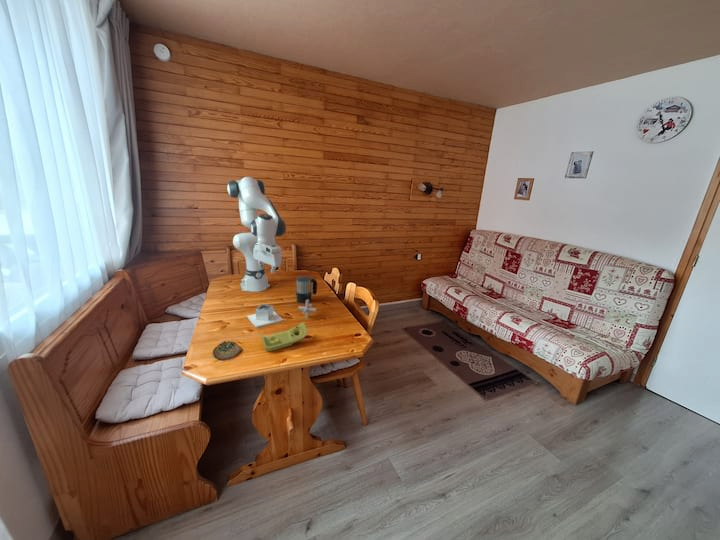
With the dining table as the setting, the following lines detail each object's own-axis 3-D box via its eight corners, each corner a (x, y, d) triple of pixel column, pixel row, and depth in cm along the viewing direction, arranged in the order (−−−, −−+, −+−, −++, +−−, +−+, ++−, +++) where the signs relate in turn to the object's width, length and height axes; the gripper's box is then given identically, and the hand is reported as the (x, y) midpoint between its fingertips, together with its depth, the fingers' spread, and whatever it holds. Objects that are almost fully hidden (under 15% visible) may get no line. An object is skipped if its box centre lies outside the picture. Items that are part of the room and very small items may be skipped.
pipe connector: (312, 322, 147) (312, 305, 144) (295, 319, 149) (294, 302, 146) (319, 314, 156) (319, 298, 154) (302, 312, 158) (302, 296, 155)
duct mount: (247, 317, 149) (246, 307, 147) (272, 311, 157) (272, 301, 156) (256, 327, 138) (255, 317, 137) (282, 320, 147) (282, 310, 145)
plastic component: (265, 349, 117) (260, 330, 123) (265, 358, 122) (260, 340, 128) (310, 336, 126) (303, 319, 132) (308, 345, 131) (302, 328, 137)
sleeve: (256, 319, 145) (255, 309, 143) (261, 314, 151) (261, 304, 149) (268, 320, 144) (267, 310, 142) (273, 315, 150) (273, 305, 149)
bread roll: (215, 346, 121) (215, 336, 119) (242, 346, 124) (243, 337, 123) (209, 362, 111) (210, 351, 109) (239, 362, 114) (240, 351, 113)
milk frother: (304, 304, 169) (304, 281, 164) (285, 298, 176) (285, 276, 172) (319, 297, 181) (319, 276, 176) (300, 292, 188) (300, 271, 184)
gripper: (249, 242, 149) (250, 267, 153) (273, 250, 138) (273, 276, 142) (259, 241, 154) (260, 264, 158) (283, 248, 143) (283, 274, 147)
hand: (267, 270), depth 150 cm, fingers open, 8 cm apart
